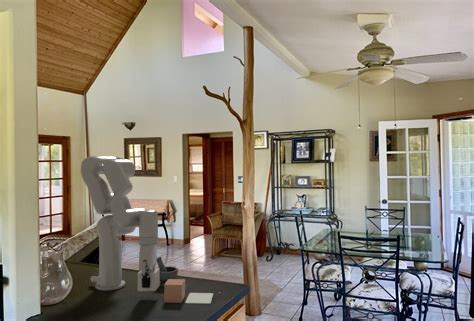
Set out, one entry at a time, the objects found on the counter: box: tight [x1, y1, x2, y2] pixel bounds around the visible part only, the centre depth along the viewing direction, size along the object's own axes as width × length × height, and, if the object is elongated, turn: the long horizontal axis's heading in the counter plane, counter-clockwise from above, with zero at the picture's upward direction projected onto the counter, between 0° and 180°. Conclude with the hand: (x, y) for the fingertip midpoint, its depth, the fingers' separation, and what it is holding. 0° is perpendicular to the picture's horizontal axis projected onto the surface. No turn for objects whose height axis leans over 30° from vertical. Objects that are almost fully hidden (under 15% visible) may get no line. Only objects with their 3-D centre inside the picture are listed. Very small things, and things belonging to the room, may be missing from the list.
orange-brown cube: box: [163, 278, 186, 304], centre depth 149 cm, size 7×7×7 cm
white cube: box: [137, 267, 161, 292], centre depth 149 cm, size 7×7×7 cm
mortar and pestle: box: [156, 256, 179, 288], centre depth 167 cm, size 11×9×12 cm
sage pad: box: [184, 292, 214, 305], centre depth 149 cm, size 10×11×1 cm
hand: (148, 284), depth 149 cm, fingers closed on white cube, 7 cm apart
